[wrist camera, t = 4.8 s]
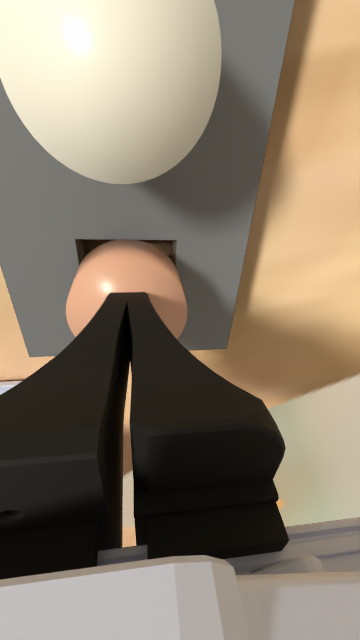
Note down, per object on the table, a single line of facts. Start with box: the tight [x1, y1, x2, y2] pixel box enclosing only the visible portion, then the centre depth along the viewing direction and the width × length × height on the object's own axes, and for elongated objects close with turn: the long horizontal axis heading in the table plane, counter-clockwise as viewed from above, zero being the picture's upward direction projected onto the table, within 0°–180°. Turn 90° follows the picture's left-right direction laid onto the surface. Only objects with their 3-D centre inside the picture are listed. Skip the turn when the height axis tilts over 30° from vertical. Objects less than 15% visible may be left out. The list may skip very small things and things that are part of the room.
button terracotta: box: [66, 239, 187, 339], centre depth 12 cm, size 4×4×4 cm
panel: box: [0, 0, 295, 357], centre depth 10 cm, size 22×10×2 cm, turn 177°
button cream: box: [0, 0, 222, 184], centre depth 7 cm, size 4×4×4 cm
